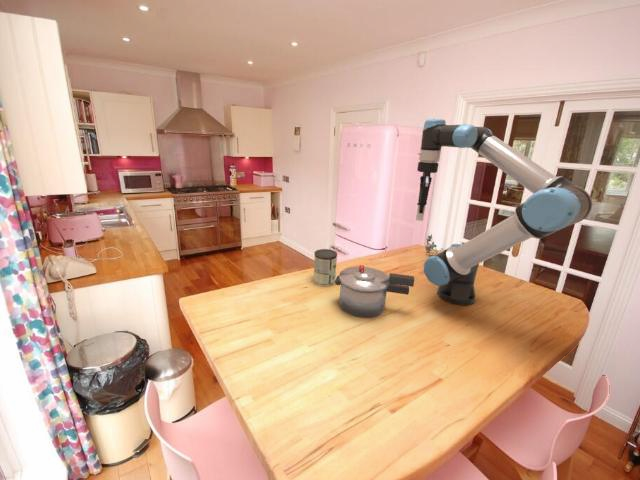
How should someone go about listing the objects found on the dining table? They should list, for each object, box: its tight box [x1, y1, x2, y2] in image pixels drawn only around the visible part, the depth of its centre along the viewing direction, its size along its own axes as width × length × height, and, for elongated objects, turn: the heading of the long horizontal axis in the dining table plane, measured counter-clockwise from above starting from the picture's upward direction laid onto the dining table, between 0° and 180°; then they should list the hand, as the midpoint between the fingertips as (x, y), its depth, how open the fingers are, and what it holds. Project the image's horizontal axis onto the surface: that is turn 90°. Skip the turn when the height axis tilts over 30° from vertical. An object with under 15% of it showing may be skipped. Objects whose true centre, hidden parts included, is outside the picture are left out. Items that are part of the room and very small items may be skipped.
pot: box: [334, 275, 410, 319], centre depth 118 cm, size 28×18×11 cm, turn 77°
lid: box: [338, 264, 415, 292], centre depth 115 cm, size 28×20×5 cm
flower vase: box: [424, 233, 445, 256], centre depth 164 cm, size 12×12×35 cm
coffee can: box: [313, 248, 338, 287], centre depth 136 cm, size 10×10×14 cm
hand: (419, 220), depth 124 cm, fingers closed
